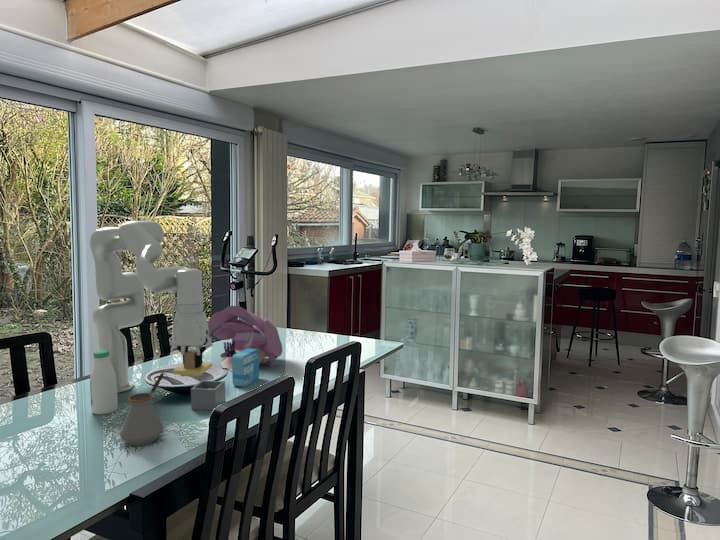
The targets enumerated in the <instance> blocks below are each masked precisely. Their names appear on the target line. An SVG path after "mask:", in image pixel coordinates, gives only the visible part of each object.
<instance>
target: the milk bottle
mask: <svg viewBox="0 0 720 540" xmlns="http://www.w3.org/2000/svg"><path fill="white" fill-rule="evenodd" d="M109 357H110V356H109V351H108V350H99V351H98V350H96V351H94V352H93V360H94V364H93V368H92V369H91V372H90V374H89V375H90V376H89V387H90V403H91V406H90V407H91V412H92V414H94V415H106V414H111V413H114V412H116V411H117V410H118V407H119V404H118V393H117V384H116V374H115V371H114V369H113V367H112V365H111V364H110V361H109Z"/></svg>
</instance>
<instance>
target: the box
mask: <svg viewBox="0 0 720 540" xmlns="http://www.w3.org/2000/svg"><path fill="white" fill-rule="evenodd" d="M225 402H226V381H225V380H199V382H197V384H196V383H195V385H194V386H192V387H191V388H190V405H191V406H190V407H191V410H195V411H196V410H199V411H214V410H213V409H214V408H216V407H217V406H218V405H220V404H222V403H223V404H224V403H225ZM223 404H222V405H223Z"/></svg>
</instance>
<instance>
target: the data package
mask: <svg viewBox="0 0 720 540" xmlns="http://www.w3.org/2000/svg"><path fill="white" fill-rule="evenodd" d="M231 373H232V377H231V378H232V385H233V386H234V387H239V388H240V387H242V388H245V387H247V386H249V385H250V384H252V383H254V382H255V381H257V380H259V378H260V363H259V351H258V350H257V349H248V348H247V349H245V350H243V351H241V352H239V353H237V354H235V355H233V357H232V371H231Z"/></svg>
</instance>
